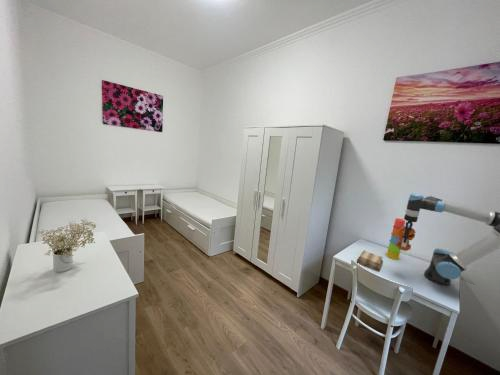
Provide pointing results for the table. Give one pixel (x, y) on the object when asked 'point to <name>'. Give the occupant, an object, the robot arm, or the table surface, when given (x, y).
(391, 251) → the stacking cups
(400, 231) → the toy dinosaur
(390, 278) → the table surface
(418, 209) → the robot arm
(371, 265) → the egg carton
